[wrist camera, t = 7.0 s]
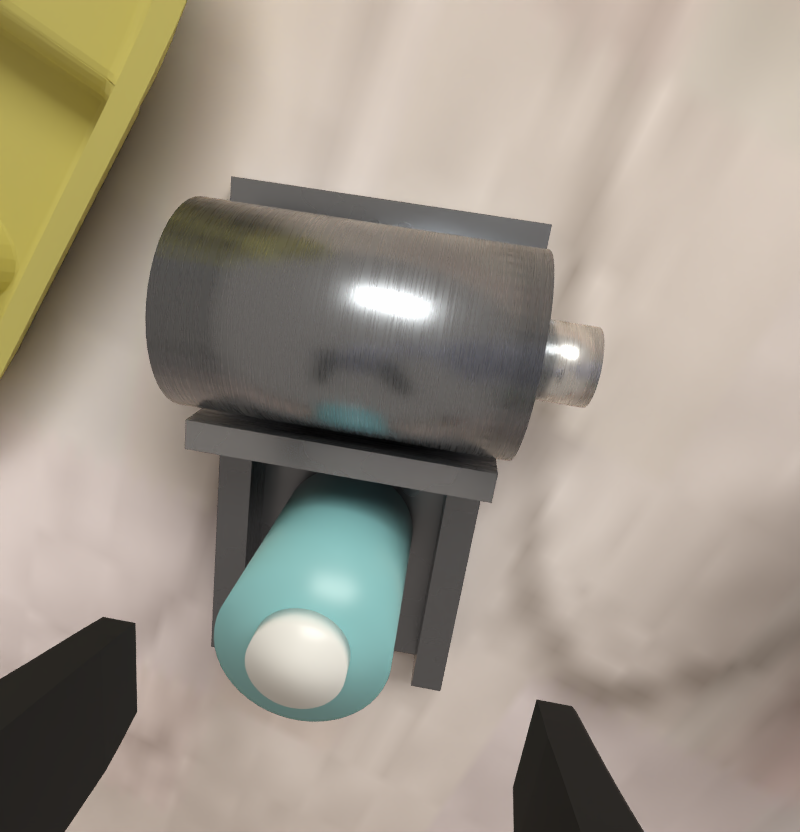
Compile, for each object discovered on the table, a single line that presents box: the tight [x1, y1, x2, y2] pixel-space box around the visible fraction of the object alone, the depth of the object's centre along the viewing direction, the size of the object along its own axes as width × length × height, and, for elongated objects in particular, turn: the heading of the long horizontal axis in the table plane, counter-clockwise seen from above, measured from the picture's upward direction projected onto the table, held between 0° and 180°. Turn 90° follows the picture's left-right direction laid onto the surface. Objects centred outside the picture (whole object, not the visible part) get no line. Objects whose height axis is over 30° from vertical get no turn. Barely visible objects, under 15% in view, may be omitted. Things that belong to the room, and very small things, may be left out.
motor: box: [146, 176, 604, 691], centre depth 16 cm, size 10×15×6 cm
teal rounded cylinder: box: [214, 472, 413, 721], centre depth 17 cm, size 4×4×7 cm
